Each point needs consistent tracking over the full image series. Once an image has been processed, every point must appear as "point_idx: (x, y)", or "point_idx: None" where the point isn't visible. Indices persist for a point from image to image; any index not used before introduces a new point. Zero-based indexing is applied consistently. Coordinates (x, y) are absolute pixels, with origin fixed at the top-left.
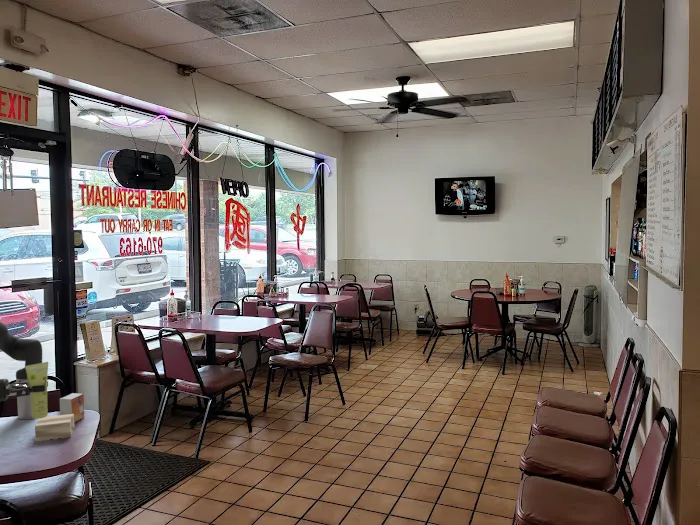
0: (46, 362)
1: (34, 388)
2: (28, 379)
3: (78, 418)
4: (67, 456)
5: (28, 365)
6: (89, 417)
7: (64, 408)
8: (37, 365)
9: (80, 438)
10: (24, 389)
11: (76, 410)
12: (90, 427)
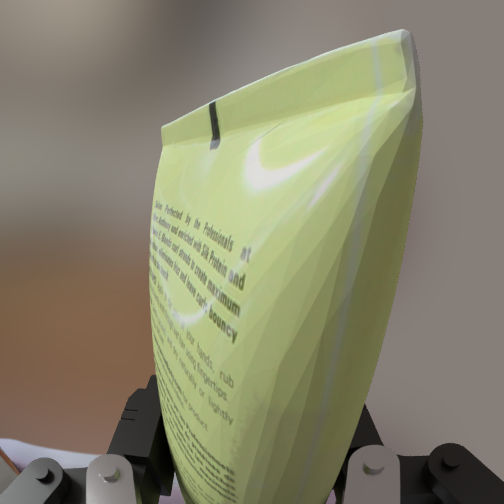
0: (170, 129)
1: (375, 437)
2: (350, 442)
3: (17, 470)
4: (331, 496)
5: (318, 56)
6: (16, 451)
7: None
8: (215, 135)
9: (174, 489)
10: (485, 473)
11: (5, 457)
12: None
